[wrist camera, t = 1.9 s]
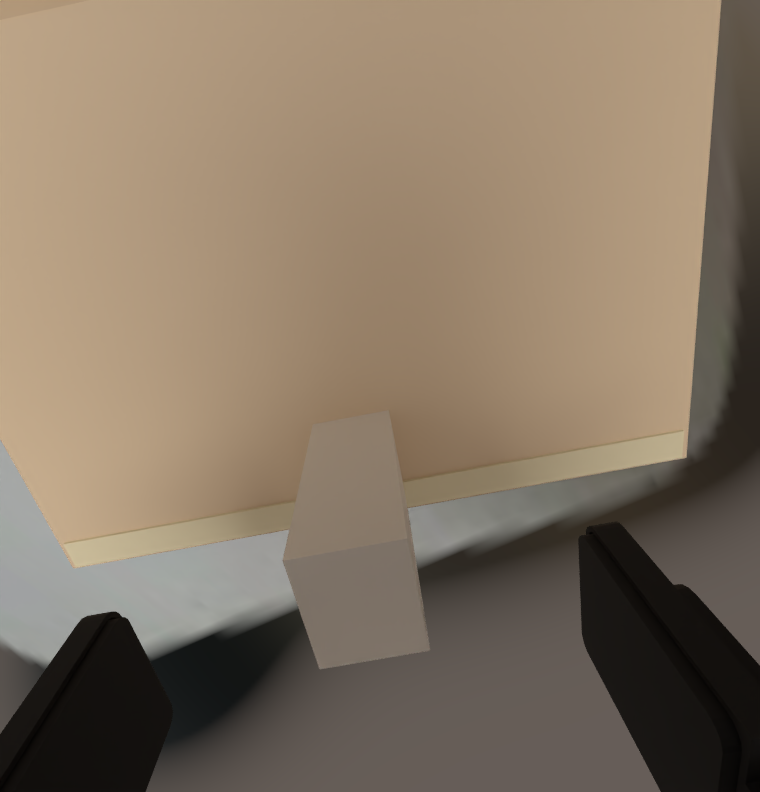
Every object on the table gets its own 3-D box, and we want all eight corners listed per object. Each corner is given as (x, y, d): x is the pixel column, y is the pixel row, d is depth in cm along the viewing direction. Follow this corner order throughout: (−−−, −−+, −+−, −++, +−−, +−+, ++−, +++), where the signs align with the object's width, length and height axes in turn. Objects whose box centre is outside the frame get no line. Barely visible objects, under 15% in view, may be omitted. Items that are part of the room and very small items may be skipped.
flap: (-182, 73, 11) (-864, -100, 5) (711, -123, 10) (1227, -613, 4) (83, 556, 17) (-80, 760, 10) (674, 449, 16) (872, 599, 10)
